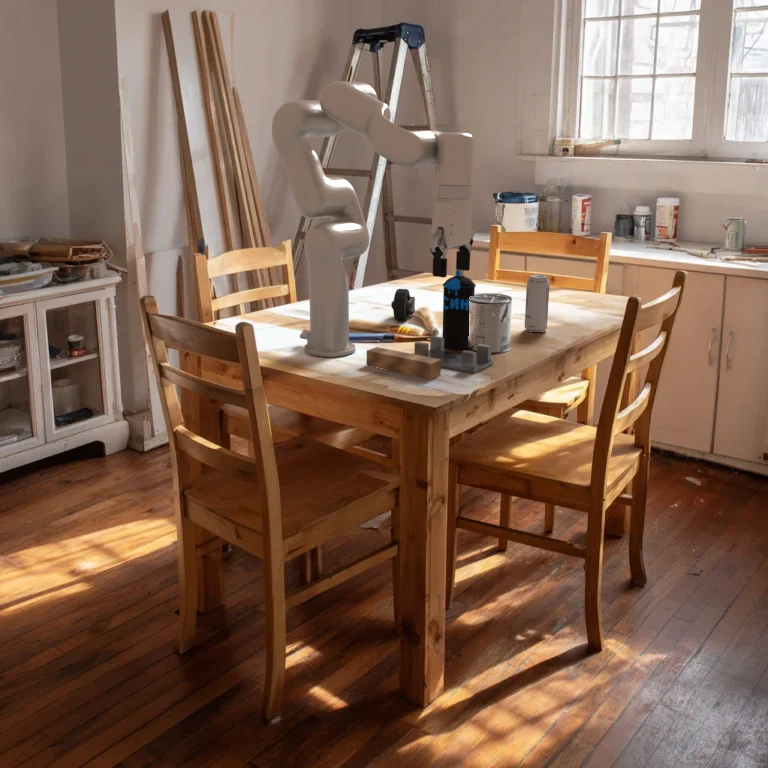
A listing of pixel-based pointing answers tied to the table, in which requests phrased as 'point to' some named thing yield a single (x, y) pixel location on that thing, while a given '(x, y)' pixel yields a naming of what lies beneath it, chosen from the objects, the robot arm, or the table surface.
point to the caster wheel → (403, 305)
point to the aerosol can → (457, 311)
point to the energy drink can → (537, 303)
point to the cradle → (456, 356)
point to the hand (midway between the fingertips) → (451, 273)
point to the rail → (404, 362)
